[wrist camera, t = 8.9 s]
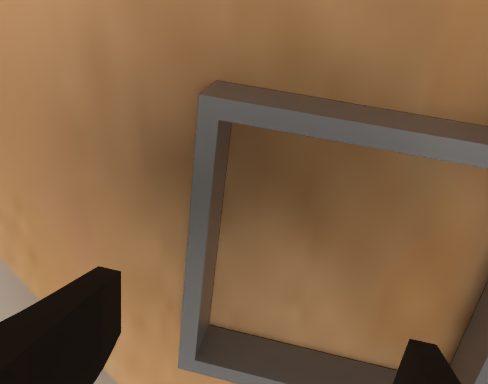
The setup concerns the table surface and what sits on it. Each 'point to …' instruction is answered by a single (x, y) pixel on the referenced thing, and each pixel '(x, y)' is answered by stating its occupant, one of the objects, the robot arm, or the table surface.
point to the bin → (209, 216)
